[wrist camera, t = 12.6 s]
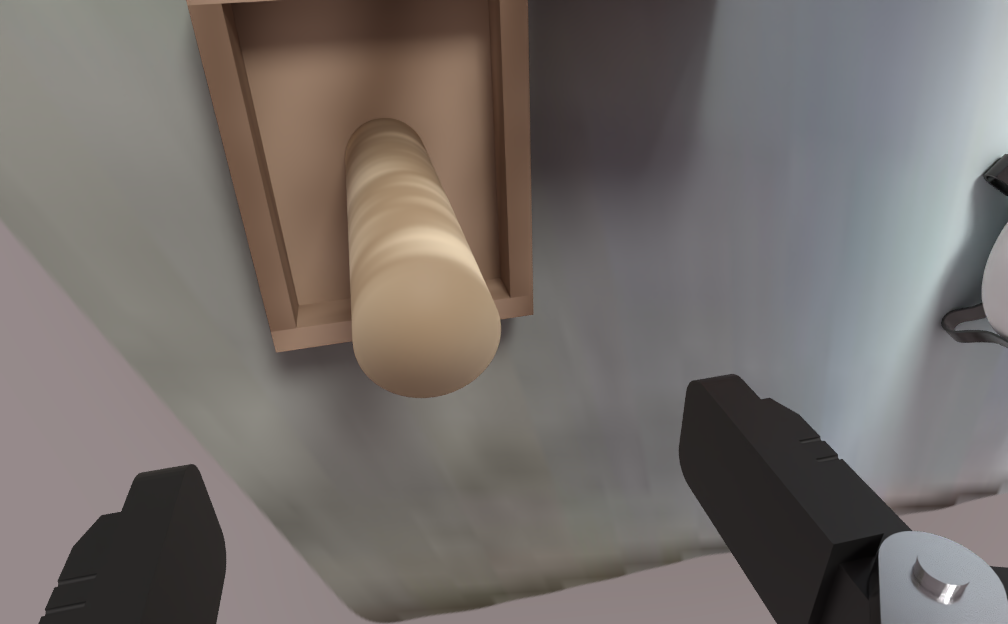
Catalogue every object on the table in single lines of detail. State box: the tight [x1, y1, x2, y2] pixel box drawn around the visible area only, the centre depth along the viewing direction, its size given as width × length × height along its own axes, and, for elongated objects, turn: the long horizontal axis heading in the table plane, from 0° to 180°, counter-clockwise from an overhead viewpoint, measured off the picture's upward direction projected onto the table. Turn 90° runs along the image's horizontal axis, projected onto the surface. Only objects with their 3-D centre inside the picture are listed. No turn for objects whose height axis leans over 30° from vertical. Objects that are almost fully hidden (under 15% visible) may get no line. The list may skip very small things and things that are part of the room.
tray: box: [186, 0, 533, 352], centre depth 25 cm, size 11×14×3 cm
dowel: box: [345, 118, 501, 398], centre depth 20 cm, size 3×3×14 cm
